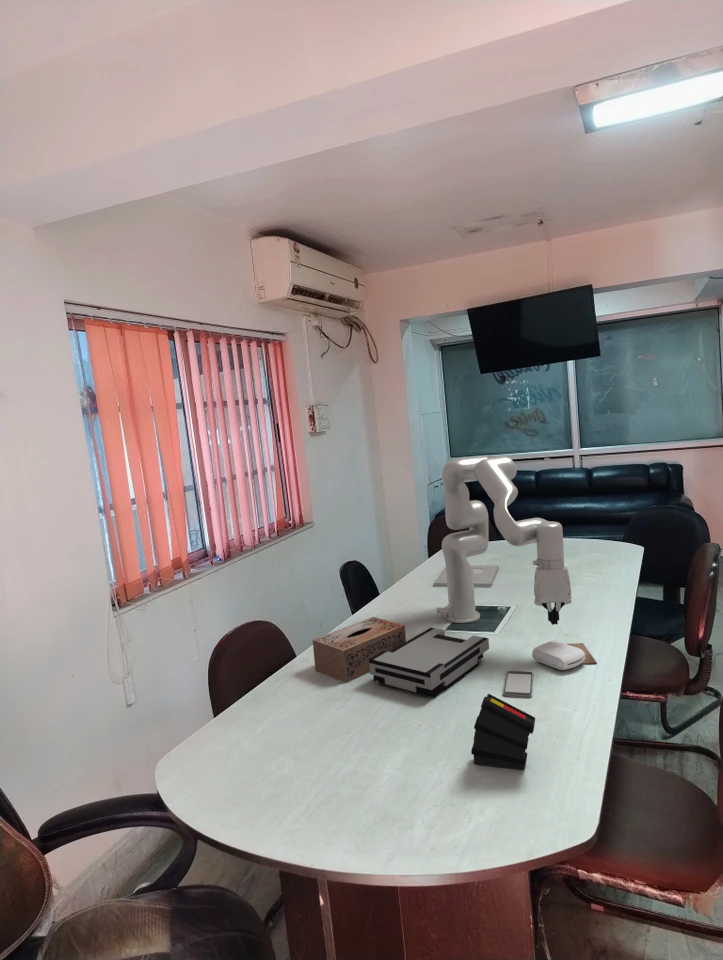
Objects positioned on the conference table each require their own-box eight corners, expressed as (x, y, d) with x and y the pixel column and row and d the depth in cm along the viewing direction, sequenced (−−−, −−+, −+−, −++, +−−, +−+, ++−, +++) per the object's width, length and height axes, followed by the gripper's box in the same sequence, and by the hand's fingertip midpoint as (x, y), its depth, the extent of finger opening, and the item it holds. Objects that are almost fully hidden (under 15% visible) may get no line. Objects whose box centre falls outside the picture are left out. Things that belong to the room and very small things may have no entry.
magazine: (461, 747, 138) (486, 691, 134) (517, 778, 135) (545, 721, 131) (457, 756, 135) (484, 699, 131) (515, 788, 131) (544, 730, 127)
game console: (489, 660, 188) (488, 634, 188) (432, 703, 164) (430, 673, 163) (432, 648, 202) (430, 623, 201) (371, 686, 177) (368, 658, 176)
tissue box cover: (375, 645, 208) (373, 616, 207) (407, 655, 197) (404, 625, 196) (315, 671, 191) (312, 640, 190) (346, 684, 180) (343, 650, 179)
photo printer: (555, 638, 188) (589, 649, 178) (555, 651, 189) (589, 663, 178) (531, 647, 183) (564, 659, 172) (531, 661, 184) (565, 674, 173)
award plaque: (433, 587, 270) (433, 582, 270) (446, 569, 298) (446, 565, 298) (491, 588, 262) (490, 583, 262) (498, 569, 290) (498, 565, 290)
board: (554, 665, 180) (554, 664, 180) (543, 646, 195) (543, 644, 195) (596, 664, 179) (596, 662, 179) (582, 644, 194) (582, 643, 194)
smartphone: (533, 671, 176) (531, 695, 162) (533, 675, 176) (531, 699, 162) (506, 670, 178) (502, 694, 164) (506, 674, 178) (502, 698, 164)
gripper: (527, 568, 181) (530, 628, 183) (580, 565, 180) (582, 626, 182) (523, 561, 189) (526, 620, 191) (573, 558, 187) (576, 617, 189)
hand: (553, 623), depth 186 cm, fingers closed
